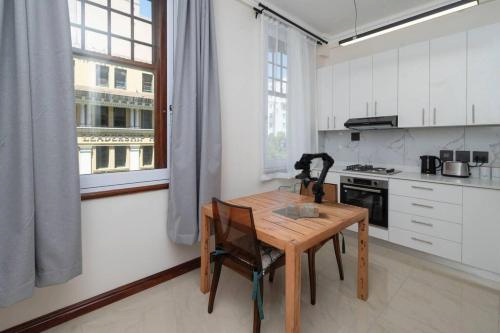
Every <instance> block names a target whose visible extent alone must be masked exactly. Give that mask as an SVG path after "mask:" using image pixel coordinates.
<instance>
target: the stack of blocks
mask: <svg viewBox="0 0 500 333" xmlns="http://www.w3.org/2000/svg"><path fill="white" fill-rule="evenodd" d="M285 208H286V215H300V217H302V218H304V217H306V218H307V217H308V218H319V214H320V213H319V206H318V205H317V203H309V202H308V203H307V202H303V203H302V202H301V203H298V202H286V203H285Z"/></svg>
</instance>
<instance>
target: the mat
mask: <svg viewBox="0 0 500 333" xmlns="http://www.w3.org/2000/svg"><path fill="white" fill-rule="evenodd" d="M271 212H272V213H275V214H278V215H281V216H284V217H286V218H289V219H293V220H297V219H301V218H303V217H300V215H286V207H283V208H280V209H275V210H271Z"/></svg>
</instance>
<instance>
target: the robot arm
mask: <svg viewBox="0 0 500 333" xmlns="http://www.w3.org/2000/svg"><path fill="white" fill-rule="evenodd" d="M315 159H321V161H322V166H323V167H322V169H321V171H320V175H319V177H318V176H312V175H311V173H312V169H311V164H313V162H312V160H315ZM334 164H335V160H334V158H333V157H332V156H330V155H329V154H328V153H327V152H323V151H322V152H316V153H308V152H304V153H302V155H301V157H300V159H299V160H296V161H295V163H294V165H293V166H294V169H295V171H300V173H298V174H295V176H294V179H295V180H300V181H301V182H302V184H303V186H304V189H308V187H309V185H310V184H311V182H313V184H312V187H311V191H312V195H314V201H313V203H314V204H323V203H325V201H323V197H325V195H326V192H325V191H324V182H325V181H326V178H327V176H328V173H329V170H330V169H331V168H332V167H333V166H334ZM314 182H315V183H314Z"/></svg>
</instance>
